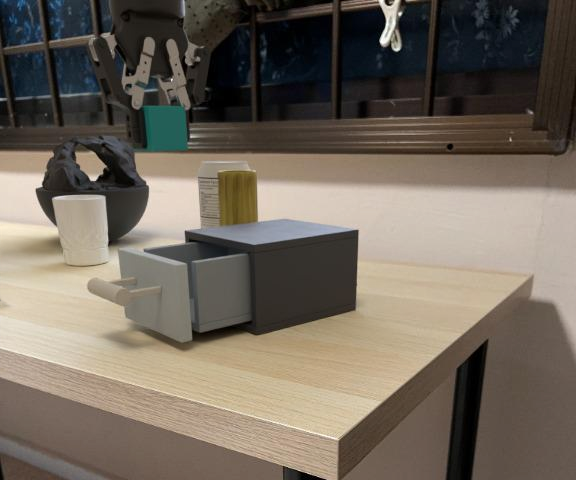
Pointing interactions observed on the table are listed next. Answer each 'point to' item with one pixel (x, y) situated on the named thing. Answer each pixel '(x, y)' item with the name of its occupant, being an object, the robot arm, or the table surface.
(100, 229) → the white cup
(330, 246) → the grey drawer cabinet
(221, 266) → the pulled-out drawer
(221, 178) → the vase
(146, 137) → the robot arm
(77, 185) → the bowl of black rocks
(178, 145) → the teal cube
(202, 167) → the supplement can
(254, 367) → the table surface
